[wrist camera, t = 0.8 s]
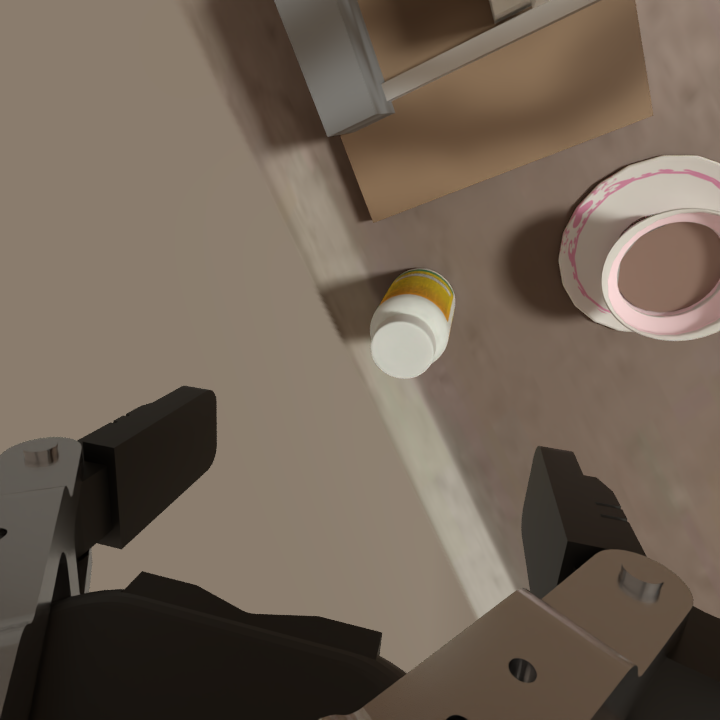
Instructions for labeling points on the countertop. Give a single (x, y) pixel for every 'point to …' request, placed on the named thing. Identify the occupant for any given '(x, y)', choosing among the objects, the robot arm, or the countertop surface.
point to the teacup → (649, 249)
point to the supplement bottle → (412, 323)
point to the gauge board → (463, 86)
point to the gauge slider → (511, 7)
